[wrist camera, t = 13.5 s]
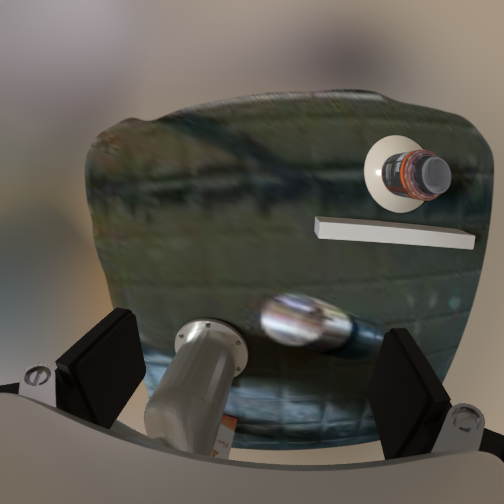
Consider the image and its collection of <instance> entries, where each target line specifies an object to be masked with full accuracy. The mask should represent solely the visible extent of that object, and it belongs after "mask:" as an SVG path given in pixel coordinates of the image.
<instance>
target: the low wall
mask: <svg viewBox="0 0 504 504" xmlns="http://www.w3.org/2000/svg"><path fill="white" fill-rule="evenodd" d="M315 232H316V234H317V236H318V238H321V239H338V240H354V241H369V242H384V243H398V244H411V245H424V246H437V247H449V248H461V249H473V248H474V242H475V236H474V235H472V234H469V233H467V232H464V231H462V230H459V229H453V228H445V227H436V226H427V225H417V224H408V223H397V222H386V221H375V220H363V219H350V218H336V217H322V216H315Z"/></svg>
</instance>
